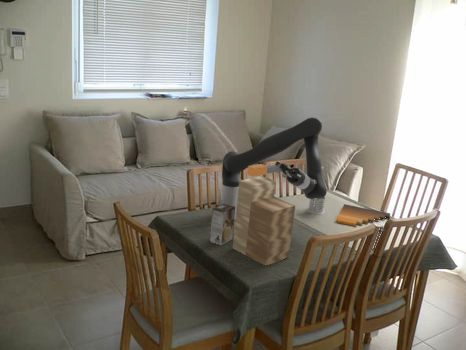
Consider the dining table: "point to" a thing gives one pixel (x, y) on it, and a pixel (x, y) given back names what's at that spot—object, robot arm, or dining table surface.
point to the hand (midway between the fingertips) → (278, 164)
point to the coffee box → (222, 224)
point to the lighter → (378, 234)
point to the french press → (317, 205)
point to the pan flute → (359, 215)
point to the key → (263, 169)
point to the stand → (262, 221)
